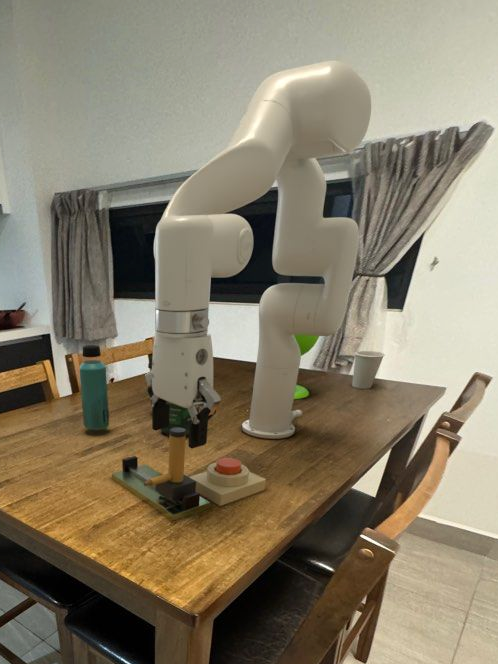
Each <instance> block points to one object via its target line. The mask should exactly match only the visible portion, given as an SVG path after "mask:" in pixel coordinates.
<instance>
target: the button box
mask: <svg viewBox="0 0 498 664" xmlns="http://www.w3.org/2000/svg"><path fill="white" fill-rule="evenodd" d="M216 463H217V461H216V462H213V463H210V464H209V465H208V467H207V468H206V470H205V471H203V472H200V473H197V474H193V475H190V476H188V477H189V478H191V479H193V480H195V481H196V491H195V492H198V493H200V496H201V497H203V498H206V499H207V500H208V501H210V502H213V503H215V504H216V505H217V506H220V507H221V506H224V505H227V504H230V503H232V502H235V501H239V500H240V499H241V500H242V499H244V498H246V497H249V496H252V495H254V494H258V493H260V492H263V491H266V490H265V489H266V483H267V479H266V478H264V477H263V476H262V477H261V476H259V475H258V474H255V473H253V472H252V471H250V470H249V469H248V467H247V466H246V465H244V464H242V463H241V469H240V473H239V474H236V475H224V474H220V473H218V472H216Z"/></svg>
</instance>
